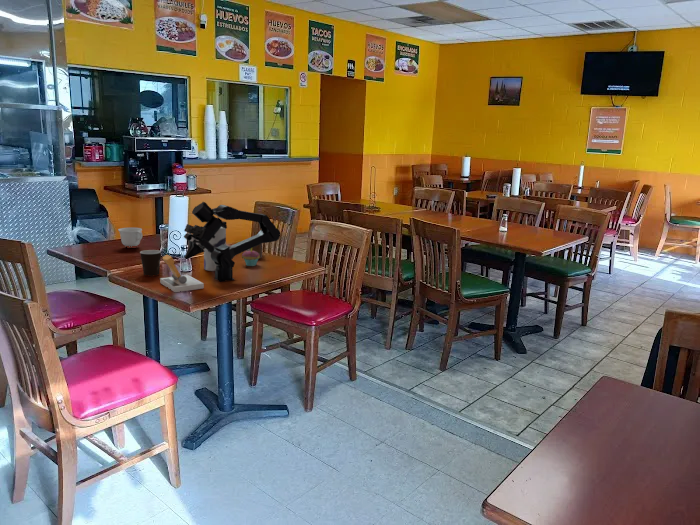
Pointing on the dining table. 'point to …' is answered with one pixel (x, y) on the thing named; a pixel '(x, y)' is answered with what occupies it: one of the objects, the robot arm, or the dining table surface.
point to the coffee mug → (151, 262)
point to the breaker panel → (181, 283)
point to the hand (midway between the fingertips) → (185, 258)
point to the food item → (257, 249)
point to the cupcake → (251, 257)
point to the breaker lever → (171, 266)
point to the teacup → (130, 236)
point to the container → (216, 242)
